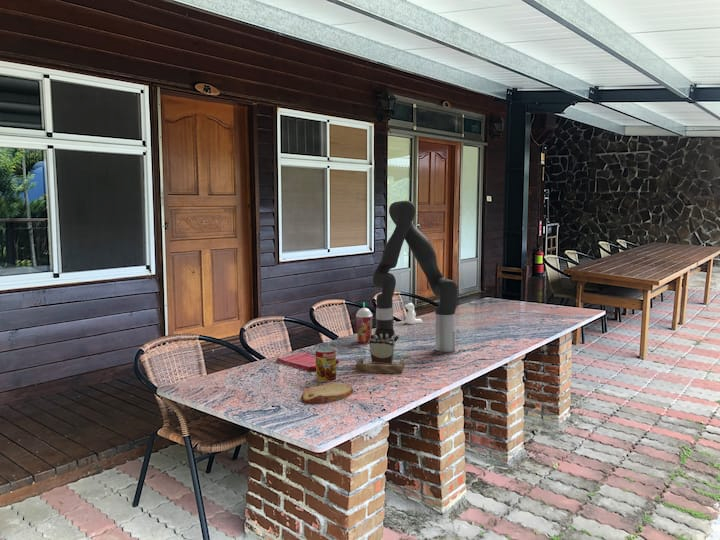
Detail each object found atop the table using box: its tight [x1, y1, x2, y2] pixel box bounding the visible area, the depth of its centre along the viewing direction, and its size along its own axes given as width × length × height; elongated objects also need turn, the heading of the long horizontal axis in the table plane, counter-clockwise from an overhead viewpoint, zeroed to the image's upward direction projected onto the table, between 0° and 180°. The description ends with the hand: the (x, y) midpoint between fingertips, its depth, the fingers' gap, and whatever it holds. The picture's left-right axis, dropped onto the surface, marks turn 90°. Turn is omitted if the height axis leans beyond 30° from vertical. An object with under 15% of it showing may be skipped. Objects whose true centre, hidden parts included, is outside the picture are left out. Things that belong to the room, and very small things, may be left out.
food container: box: [367, 337, 396, 365], centre depth 261 cm, size 12×6×10 cm, turn 66°
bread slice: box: [300, 382, 354, 405], centre depth 217 cm, size 18×18×4 cm
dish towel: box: [275, 352, 340, 372], centre depth 261 cm, size 17×24×3 cm
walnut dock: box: [354, 358, 405, 374], centre depth 249 cm, size 19×10×3 cm, turn 79°
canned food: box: [315, 346, 337, 383], centre depth 237 cm, size 8×8×12 cm
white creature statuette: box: [404, 302, 423, 325], centre depth 340 cm, size 10×9×12 cm
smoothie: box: [355, 302, 374, 344], centre depth 296 cm, size 8×8×20 cm
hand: (385, 356), depth 264 cm, fingers closed
